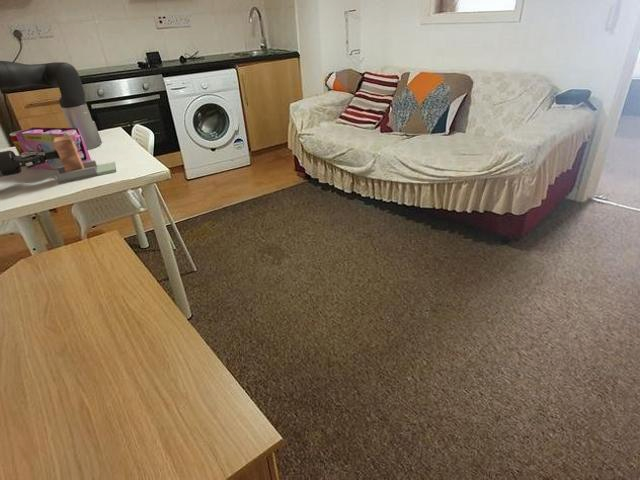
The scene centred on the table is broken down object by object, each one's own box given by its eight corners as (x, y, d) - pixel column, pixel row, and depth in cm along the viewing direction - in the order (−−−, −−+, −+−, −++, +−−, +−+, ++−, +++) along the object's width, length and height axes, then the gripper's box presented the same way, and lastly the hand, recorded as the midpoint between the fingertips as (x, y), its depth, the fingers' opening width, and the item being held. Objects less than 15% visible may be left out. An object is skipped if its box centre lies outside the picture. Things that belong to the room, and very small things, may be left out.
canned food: (36, 166, 149) (21, 135, 142) (19, 166, 150) (4, 135, 144) (51, 159, 155) (38, 129, 149) (35, 159, 157) (21, 129, 151)
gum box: (96, 163, 147) (82, 127, 140) (80, 171, 140) (64, 134, 133) (48, 161, 153) (33, 126, 146) (30, 168, 147) (13, 132, 140)
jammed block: (68, 176, 132) (53, 142, 126) (69, 171, 137) (54, 137, 131) (84, 173, 134) (70, 139, 128) (84, 168, 139) (71, 135, 133)
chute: (59, 183, 131) (55, 175, 129) (60, 175, 138) (57, 167, 136) (116, 171, 137) (113, 163, 136) (115, 164, 144) (112, 156, 143)
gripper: (-12, 159, 118) (53, 147, 124) (-3, 148, 128) (57, 138, 134) (1, 182, 122) (63, 170, 128) (8, 169, 132) (65, 159, 138)
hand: (59, 153), depth 131 cm, fingers closed
